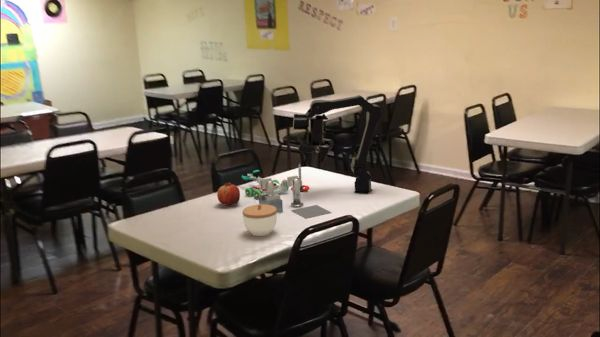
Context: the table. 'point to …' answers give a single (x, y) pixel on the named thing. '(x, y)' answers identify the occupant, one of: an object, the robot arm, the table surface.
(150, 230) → the table surface
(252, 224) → the lidded bowl
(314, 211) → the mat
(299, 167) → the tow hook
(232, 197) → the fruit
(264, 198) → the vise
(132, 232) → the table surface
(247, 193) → the robot kit
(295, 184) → the flanged metal post
